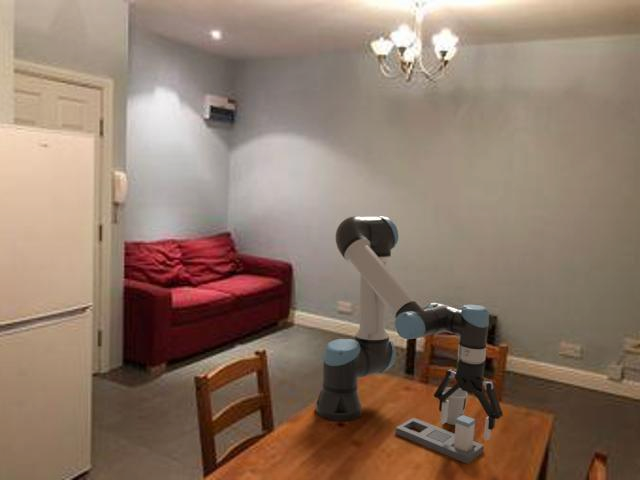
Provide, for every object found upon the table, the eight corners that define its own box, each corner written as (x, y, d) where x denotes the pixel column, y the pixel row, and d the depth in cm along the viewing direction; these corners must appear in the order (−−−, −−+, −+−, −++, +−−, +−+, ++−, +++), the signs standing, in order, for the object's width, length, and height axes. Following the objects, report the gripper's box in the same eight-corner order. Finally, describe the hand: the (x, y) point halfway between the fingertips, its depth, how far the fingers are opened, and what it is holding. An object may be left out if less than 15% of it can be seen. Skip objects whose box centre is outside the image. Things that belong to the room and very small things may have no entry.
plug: (453, 452, 159) (456, 419, 158) (459, 447, 162) (462, 414, 161) (465, 457, 157) (468, 423, 155) (472, 452, 160) (475, 419, 158)
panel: (395, 433, 169) (396, 427, 169) (412, 423, 176) (413, 417, 176) (467, 464, 153) (468, 457, 153) (483, 451, 161) (483, 445, 160)
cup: (465, 428, 175) (468, 398, 173) (439, 425, 176) (441, 395, 175) (464, 417, 182) (466, 389, 181) (439, 414, 184) (441, 385, 183)
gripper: (425, 351, 161) (420, 419, 164) (508, 375, 145) (500, 451, 148) (438, 346, 167) (433, 412, 170) (519, 368, 151) (512, 441, 153)
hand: (464, 430), depth 159 cm, fingers open, 13 cm apart
